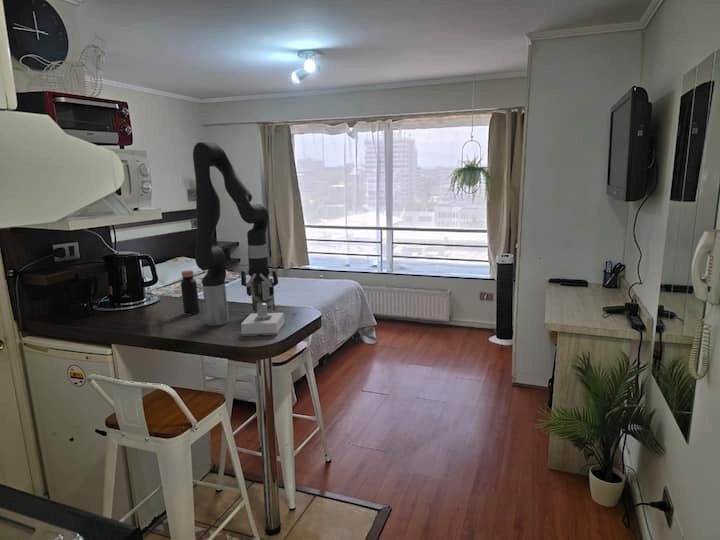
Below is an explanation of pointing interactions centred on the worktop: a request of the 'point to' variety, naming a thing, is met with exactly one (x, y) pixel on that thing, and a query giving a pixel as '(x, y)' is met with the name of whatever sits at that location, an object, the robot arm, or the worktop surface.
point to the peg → (262, 311)
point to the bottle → (189, 293)
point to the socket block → (262, 325)
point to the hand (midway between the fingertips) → (260, 295)
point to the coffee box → (262, 296)
